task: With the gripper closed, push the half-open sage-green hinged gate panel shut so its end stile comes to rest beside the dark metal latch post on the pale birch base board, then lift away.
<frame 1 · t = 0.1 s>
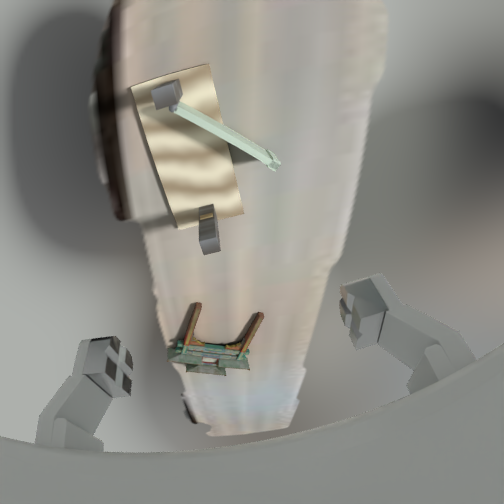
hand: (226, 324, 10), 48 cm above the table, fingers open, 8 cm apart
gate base: (190, 151, 53), on the table
gate panel: (225, 132, 48), point 4 cm above the table, hinge at 45.0°
miniature gate: (215, 338, 88), on the table
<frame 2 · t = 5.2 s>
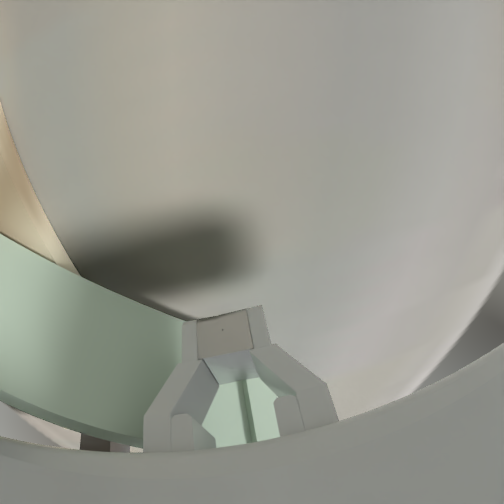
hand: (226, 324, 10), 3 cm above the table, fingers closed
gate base: (4, 312, 12), on the table
gate panel: (22, 324, 7), point 4 cm above the table, hinge at 42.4°, touching gripper
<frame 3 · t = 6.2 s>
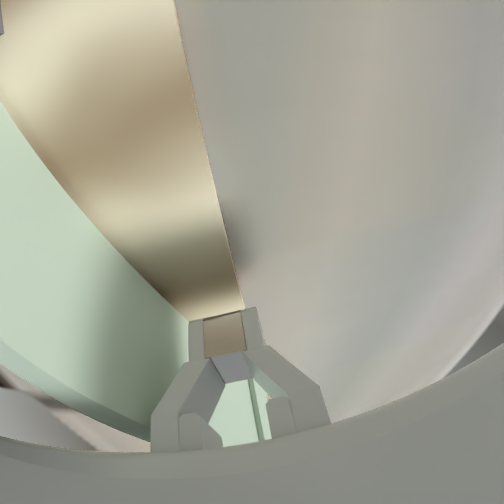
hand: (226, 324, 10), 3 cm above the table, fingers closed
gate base: (85, 282, 12), on the table
gate panel: (119, 340, 9), point 4 cm above the table, hinge at 17.4°, touching gripper
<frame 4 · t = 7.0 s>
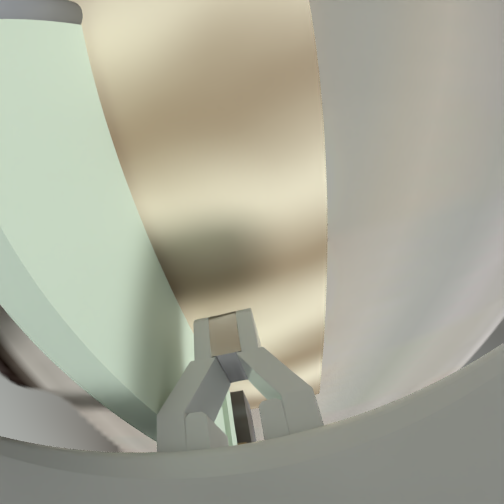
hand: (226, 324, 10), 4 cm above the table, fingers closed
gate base: (157, 260, 12), on the table
gate panel: (145, 340, 9), point 4 cm above the table, hinge at -0.4°, touching gripper
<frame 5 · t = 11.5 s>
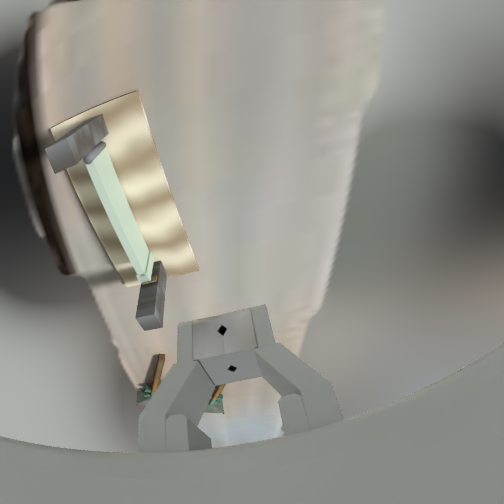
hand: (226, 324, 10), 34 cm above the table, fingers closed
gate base: (127, 201, 42), on the table
gate panel: (120, 214, 39), point 4 cm above the table, hinge at -0.3°
miniature gate: (185, 383, 78), on the table
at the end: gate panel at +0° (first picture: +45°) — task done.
